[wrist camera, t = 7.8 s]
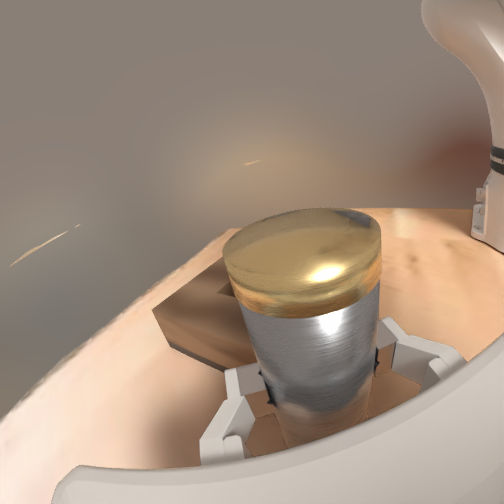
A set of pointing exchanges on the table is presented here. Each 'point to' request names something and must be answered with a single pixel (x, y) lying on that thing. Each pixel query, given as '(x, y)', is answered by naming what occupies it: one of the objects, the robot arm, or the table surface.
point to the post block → (207, 321)
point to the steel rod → (311, 314)
